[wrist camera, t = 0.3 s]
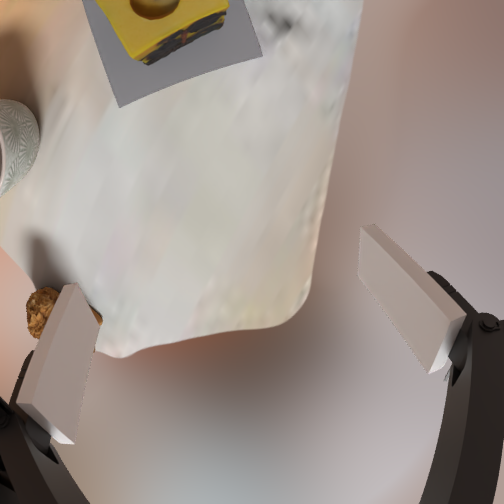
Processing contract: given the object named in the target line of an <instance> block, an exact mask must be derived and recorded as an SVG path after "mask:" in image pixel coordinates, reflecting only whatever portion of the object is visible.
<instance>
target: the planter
mask: <svg viewBox="0 0 504 504" xmlns="http://www.w3.org/2000/svg"><path fill="white" fill-rule="evenodd" d="M39 140H40V137H39V128H38V124H37V121H36V119H35V117H34V115H33V113H32V112H31V111H30V109H29V108H28V107H27V106H25V105H24V104H22V103H20V102H18V101H15V100H9V99H0V197H1V196H2V195H4V194H5V193H6V192H7V191H9V190H10V189H11V188H12V187H13V186H15V185H16V184H17V183H18V182H19V181H20V180H21V179H22V178H23V177H24V176H25V175H26V174H27V173H28V171H29V170H30V169H31V167H32V165H33V163H34V161H35V159H36V156H37V153H38V149H39Z"/></svg>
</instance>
